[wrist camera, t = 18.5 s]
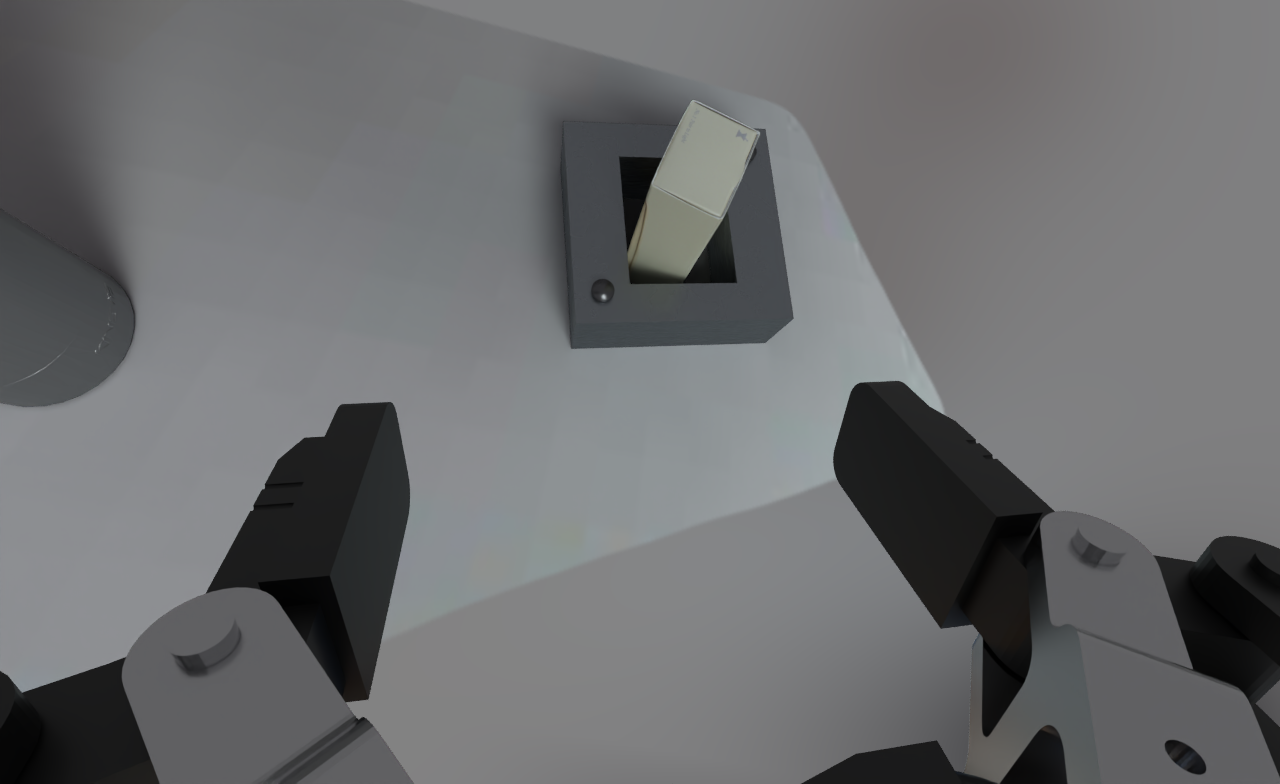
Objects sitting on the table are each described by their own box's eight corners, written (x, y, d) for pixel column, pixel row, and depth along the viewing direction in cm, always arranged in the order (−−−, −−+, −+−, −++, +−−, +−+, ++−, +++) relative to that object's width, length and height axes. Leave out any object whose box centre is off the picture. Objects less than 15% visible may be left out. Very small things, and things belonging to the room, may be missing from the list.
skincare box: (650, 210, 44) (691, 92, 32) (704, 236, 44) (763, 128, 33) (616, 279, 42) (646, 182, 31) (673, 306, 42) (723, 219, 31)
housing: (571, 348, 40) (576, 321, 35) (560, 166, 44) (563, 117, 38) (765, 342, 43) (796, 316, 38) (741, 171, 46) (767, 125, 41)
